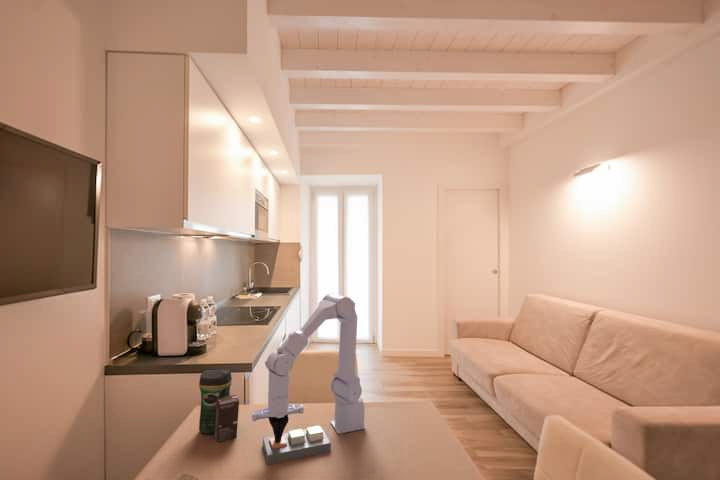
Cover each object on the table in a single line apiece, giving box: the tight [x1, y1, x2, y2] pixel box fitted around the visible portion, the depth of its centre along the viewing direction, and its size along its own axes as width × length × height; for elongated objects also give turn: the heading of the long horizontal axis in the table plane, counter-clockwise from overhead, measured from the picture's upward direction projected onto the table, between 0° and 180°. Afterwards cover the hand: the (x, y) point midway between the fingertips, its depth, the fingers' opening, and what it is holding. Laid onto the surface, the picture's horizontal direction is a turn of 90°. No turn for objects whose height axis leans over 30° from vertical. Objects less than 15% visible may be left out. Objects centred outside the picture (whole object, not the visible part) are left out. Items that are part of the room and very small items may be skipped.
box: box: [214, 394, 240, 442], centre depth 114 cm, size 6×4×12 cm
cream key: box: [306, 425, 323, 442], centre depth 111 cm, size 4×4×3 cm
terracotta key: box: [270, 436, 286, 449], centre depth 107 cm, size 4×4×3 cm
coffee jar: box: [198, 369, 233, 434], centre depth 119 cm, size 10×8×19 cm
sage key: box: [288, 428, 305, 446], centre depth 109 cm, size 4×4×3 cm
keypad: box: [262, 426, 332, 465], centre depth 109 cm, size 18×10×2 cm, turn 112°
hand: (277, 441), depth 107 cm, fingers closed, pressing on terracotta key
